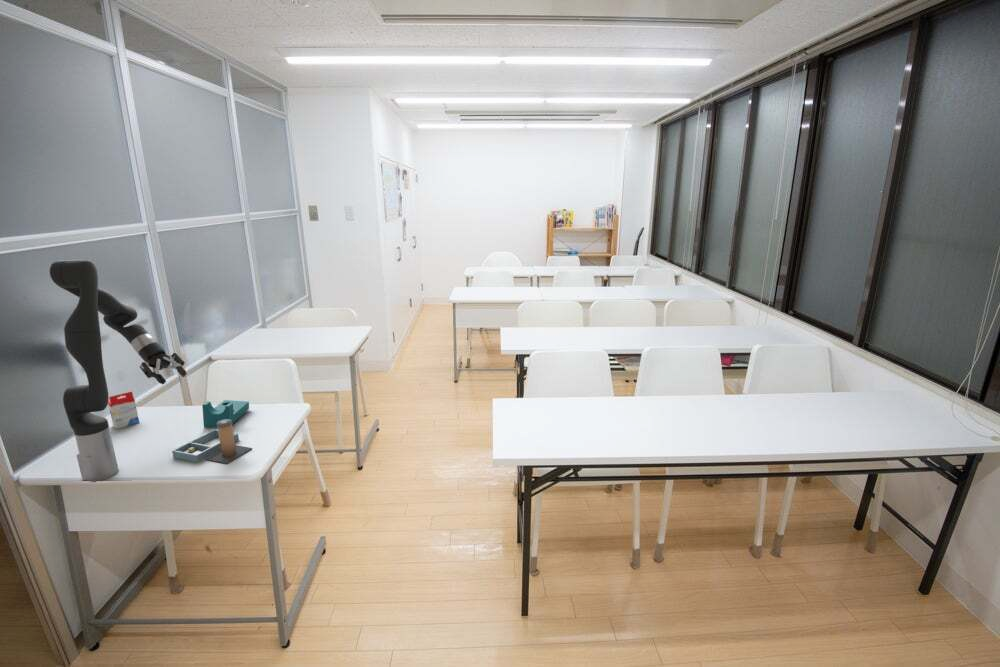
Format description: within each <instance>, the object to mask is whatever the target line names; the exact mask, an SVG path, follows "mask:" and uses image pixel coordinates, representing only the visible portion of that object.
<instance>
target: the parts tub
mask: <svg viewBox="0 0 1000 667" xmlns="http://www.w3.org/2000/svg"><path fill="white" fill-rule="evenodd" d="M233 434H234V441H235V443H236V442H239V440H240V438H239V433H237V432H234V431H233ZM214 438H219V434H218V428H213V429H212V430H210V431H208V432H207V433H205V434H202V435H201V436H199V437H196V438H194V439H192V440H191V441H188V442H186V443H184V444H182V445H180V446H178V447H177V448H175V449H172V450H171V453H172V457H173V459H177V460H180V461H181V460H182V461H187V462H192V463H197V464H199V463H200V462H202V461H204V460H206V458H208V457H210V456H212V455H213V454H215V453H217V452H219V451H221V446H220V441H219V442H217V443H216V444H214V445H208V444H204V443H206V442H208V441H210V440H213V439H214Z"/></svg>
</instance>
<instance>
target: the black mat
mask: <svg viewBox="0 0 1000 667" xmlns="http://www.w3.org/2000/svg"><path fill="white" fill-rule="evenodd" d="M235 447H236V453H235V454H234V455H232V456H228V457H224V456H222V453H221V450H220V451H218V452H217V453H215V454H213V455H211V456H209V457H208V458H206V459H205V461H208V462H213V463H214V462H215V463H218V464H223V465H228V464H230V463H232V462H234V461H235V460H237V459H238V458H240V457H241V456H243V455H245V454H247V453H248V452H250V451H252V450H253V448H252V447H249V446H243V445H238V444H235Z"/></svg>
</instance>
